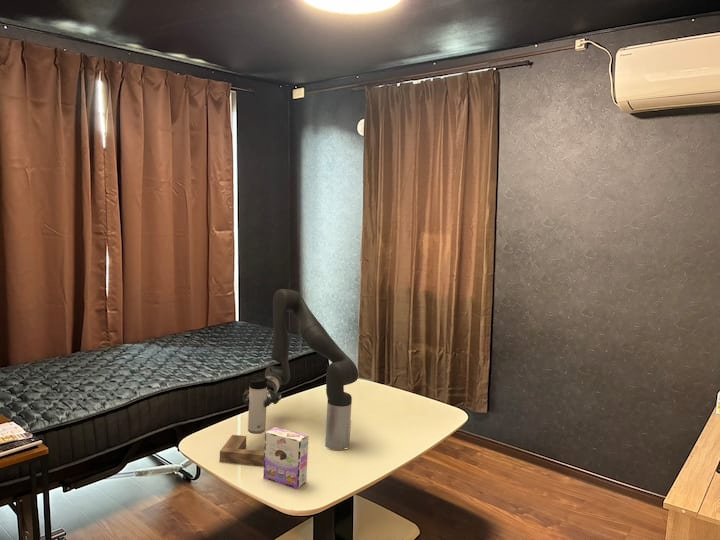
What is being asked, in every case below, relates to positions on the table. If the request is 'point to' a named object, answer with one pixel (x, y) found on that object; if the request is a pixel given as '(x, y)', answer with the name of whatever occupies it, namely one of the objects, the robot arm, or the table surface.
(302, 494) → the table surface
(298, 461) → the candy box
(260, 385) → the travel mug
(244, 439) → the wooden u-shaped block
